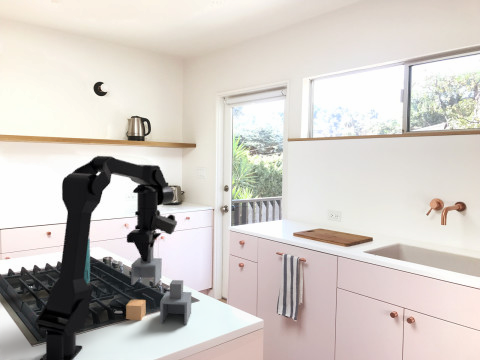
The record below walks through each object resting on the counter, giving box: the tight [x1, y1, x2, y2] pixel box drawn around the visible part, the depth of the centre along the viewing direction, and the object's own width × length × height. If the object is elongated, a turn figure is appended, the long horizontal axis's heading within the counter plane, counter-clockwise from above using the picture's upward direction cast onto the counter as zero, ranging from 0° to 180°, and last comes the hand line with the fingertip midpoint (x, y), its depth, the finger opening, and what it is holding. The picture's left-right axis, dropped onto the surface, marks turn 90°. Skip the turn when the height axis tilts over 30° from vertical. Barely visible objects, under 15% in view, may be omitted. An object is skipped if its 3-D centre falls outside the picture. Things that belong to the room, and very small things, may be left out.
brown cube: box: [125, 299, 147, 321], centre depth 99 cm, size 4×4×4 cm
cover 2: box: [159, 279, 192, 326], centre depth 98 cm, size 7×7×10 cm
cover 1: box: [130, 246, 162, 287], centre depth 108 cm, size 7×7×10 cm
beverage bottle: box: [84, 238, 91, 284], centre depth 119 cm, size 6×7×20 cm
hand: (146, 259), depth 108 cm, fingers closed on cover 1, 3 cm apart
